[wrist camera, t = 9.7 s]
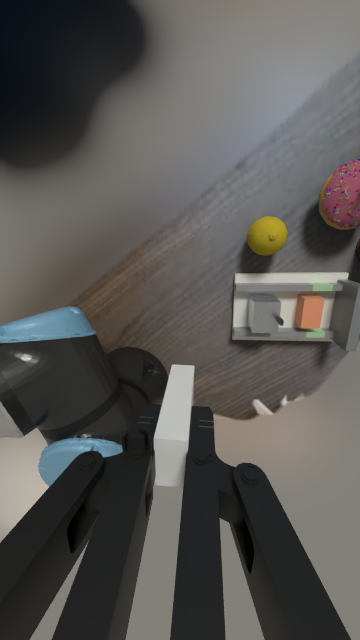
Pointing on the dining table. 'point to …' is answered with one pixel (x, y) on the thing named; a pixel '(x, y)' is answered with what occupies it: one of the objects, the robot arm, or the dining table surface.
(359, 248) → the deodorant
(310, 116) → the dining table surface
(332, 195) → the cupcake
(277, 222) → the lemon
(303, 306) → the orange block
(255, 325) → the gauge plunger
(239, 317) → the board
